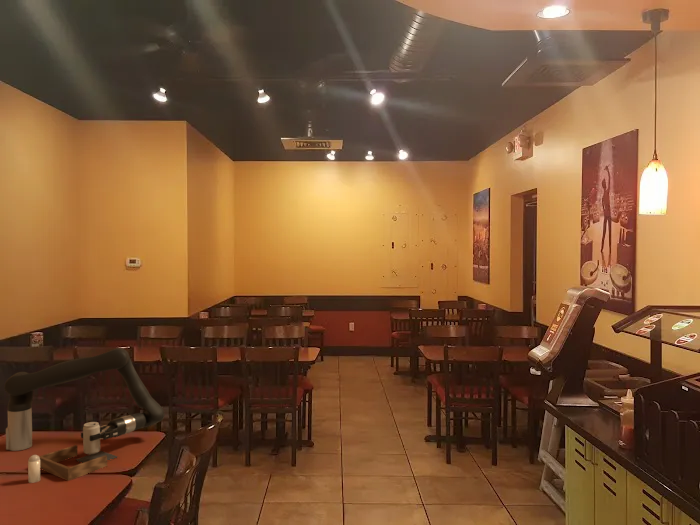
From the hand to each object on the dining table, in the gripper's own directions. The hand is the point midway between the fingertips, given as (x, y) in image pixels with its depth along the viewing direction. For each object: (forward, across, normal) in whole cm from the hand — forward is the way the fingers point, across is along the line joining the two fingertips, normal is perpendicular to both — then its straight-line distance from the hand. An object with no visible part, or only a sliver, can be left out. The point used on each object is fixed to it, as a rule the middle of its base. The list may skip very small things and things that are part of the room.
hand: (85, 437), depth 229 cm
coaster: (-5, 0, +11) cm, 12 cm away
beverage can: (-2, 0, +7) cm, 8 cm away
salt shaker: (+21, 0, +10) cm, 24 cm away
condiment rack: (+6, 0, +11) cm, 12 cm away
